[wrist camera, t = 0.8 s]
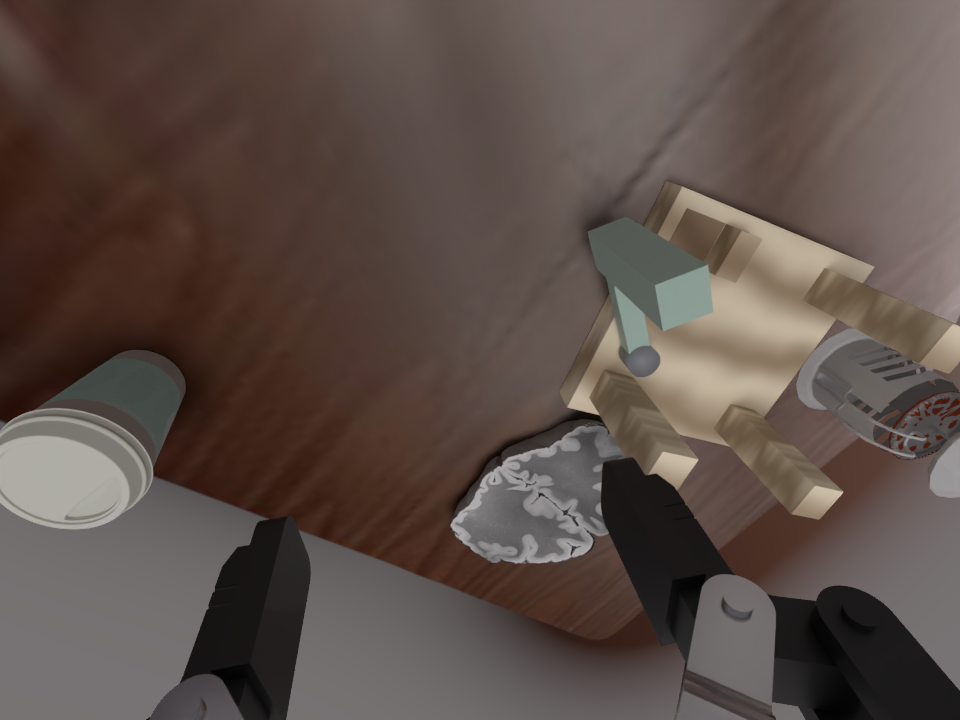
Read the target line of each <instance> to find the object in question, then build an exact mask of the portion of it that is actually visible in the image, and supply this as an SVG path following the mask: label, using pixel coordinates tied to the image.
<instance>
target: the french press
mask: <svg viewBox="0 0 960 720" xmlns="http://www.w3.org/2000/svg"><path fill="white" fill-rule="evenodd" d="M892 354H895V355H896V357H897V358H894V359H893V358H892ZM904 361H907V362H908V365H907V366H904V363H903V362H904ZM897 363H898V364H897ZM917 368H920V371H921V373H920V374H916V370H915V369H917ZM929 380H935V384H936V386H935V385H933V384H931V383H929ZM796 387H797V392H798V396H799V399H800V400H801V401H802V402H803V403H804V404H805V405H806V406H807V407H810V408H814V409H819V410H826V409H828V410H829V411H831V412H832V413H833V414H835V415H836V416H837V417H838V419H839V420H840V421H841V423H842V424H843V425H844V426H846V427H847V428H848V429H850V430H851V431H852V432H854V433H855V434H856V435H858V436H859V437H861V438H862V439H864V440H865V441H867V442H870V443H872V444H874V445H876V446H877V447H879V448H880V449H882V450H884V451H887V452H892V453H893V454H894V455H895V456H896V457H897V458H899V459H905V460H913V459H918V458H919V459H920V458H924V457H926V456H928V455H930V454H931V455H932V454H933V453H936V452H937V451H938V452H937V453H936V454H935V455H934V457H933V459H932V461H931V463H930V465H929V467H928V481H929V488H930V489H931V490H932V491H933V492H934V493H935V494H936V495H937V496H942V497H948V498H954V497H960V393H959V390H958V389H957V388H956V386H955V385H954V384H953V383H952V382H951V381H949V380H947V379H945V378H944V377H942V376H940V375H938V374H936V373H935V372H933V371H926V369H925V367H923V366H921V365H919V364H917V363H913V362H912V360H911V359H908V358H906V357H904V356H901V355H900V354H899V353H897V352H895V351H893V350H889V347H888V346H886V345H884V344H883V343H881V342H879V341H877V340H875V339H873V338H871V337H870V336H868V335H866V334H864V333H862V332H860V331H858V330H857V329H855V328H851V329H846V330H844V331H842V332H840V333H838V334H836V335H834V336H832V337H830V338H828V339H827V340H826V341H825V342H824V343H822V344H821V345H820V346H819V347H818V348H817V349H816V350H814V351H813V352H812V353H811V355H810V356H809V358H808V359H807V361H806V362H805V364H804V365H803V367H802V368H801V369H800V373H799V377H798V381H797V384H796ZM862 402H864V403H866V404H867V406H866V407H864V408H863V409H861V410H860V409H859V408H857V406H858V405H860V404H861V403H862ZM888 404H890V405H889V406H888V407H886V406H887V405H888ZM885 407H886V408H885ZM872 409H875V410H876V411H878V413H876V414H875V415H873V416H872V417H870V416H869V415H867V413H868V412H870V411H871V410H872ZM896 409H898V410H899V411H900V412H902V413H900V414H898V415H896V416H894V417H893V418H891V419H889V420H888V421H887V422H885V423H884V424H881V423H879V422H877V421H878V420H879V419H881V418H882V417H883V416H885V415H887V414H888V413H890V412H892V411H894V410H896ZM848 423H849V424H850V425H849V424H848ZM875 424H876V425H878V426H880V427H879V428H878V429H877V430H876V431H875V432H874V433H873V428H874V426H875ZM850 426H851V427H850ZM892 426H893V428H890V427H892ZM852 427H853V428H854V429H855V430H856V431H855V430H854V429H853V428H852ZM886 430H888V431H891V433H890V436H889V438H888V439H887V440H886V441H885V442H884V443H882V444H878V443H876V442H874V440H877V439H878V438H879V437H880V436H881V435H882V434H883V433H884V432H885V431H886ZM858 431H860V432H861V433H862V434H861V433H860V432H858Z"/></svg>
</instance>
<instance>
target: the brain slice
mask: <svg viewBox="0 0 960 720" xmlns="http://www.w3.org/2000/svg"><path fill="white" fill-rule="evenodd" d="M622 458H625V456H624V455H623V453H622V451H621V450H620V448H619V446H618V445H617V443H616V441H615V440H614V438H613V436H612V435H611V433H610V431H609V430H608V428H607V426H606V425H605V424H603V423H602V422H599V421H595V420H590V419H580V420H573V421H567V422H564V423H562V424H560V425H558V426H556V427H554V428H553V429H551V430H549V431H546V432H543V433H541V434H538V435H536V436H534V437H533V438H529V439H526V440H524V441H522V442H519V443H518V444H515V445H512V446H510V447H508V448H507V449H505V450H504V451H503V452H502V454H501V456H497V457H495V458H493V459H492V460H491V461H490V462H489V463H488V464H487V465H486V467H485V469H484V471H483V473H482V474H481V476H480V477H479V479H478V480H477V481H476V482H475V483H474V484H473V485H472V486H471V488H470V489H469V491H468V493H467V494H466V496H465V497H464V498H463V499H462V500H461V501H460V502H459V504H458V506H457V508H456V510H455V514H454V515H453V518H452V521H451V529H452V531H453V532H454V534H455V536H456V537H457V538H458V539H459V540H460V541H461V542H462V543H463V544H464V545H465V546H467V547H469V548H470V549H472V550H473V551H474V552H475V553H477V554H478V555H480V556H481V557H483V558H485V559H487V560H488V561H490V562H493V563H497V562H500V561H504V562H509V563H516V564H522V563H526V562H529V563H533V564H542V563H548V562H562V561H566V560H569V559H571V558H573V557H579V556H582V555H584V554H586V553H588V552H589V551H590V550H592V548H593V546H594V543H595V539H594V537H593V536H592V535H591V534H590V533H589V532H591V533H592V534H593V535H596V536H606V535H609V532H608V530H607V528H606V526H605V523H604V520H603V516H602V511H601V484H602V466H603V463H604V462H605V461H610V460H616V459H622ZM588 531H589V532H588Z"/></svg>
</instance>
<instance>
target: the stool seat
mask: <svg viewBox="0 0 960 720" xmlns="http://www.w3.org/2000/svg"><path fill="white" fill-rule="evenodd" d="M643 227H645V228H647V229H648V230H650V231H652V232H653V233H655V234H657V235H659V236H660V237H662V238H664V239H665V240H667V241H669V242H670V243H672V244H674V245H675V246H677V247H679V248H681V249H682V250H684V251H686V252H687V253H689V254H691V255H692V256H694V257H696V258H698V259H699V260H701V261H703V262H704V263H706V264H708V268H709V277H710V286H711V295H712V304H713V313H710V314H707V315H705V316H702V317H699V318H697V319H694V320H692V321H689V322H686V323H684V324H681V325H678V326H676V327H673V328H671V329H668V330H665V331H662V330H661V329H660V328H659V327H658V326H657V325H656V324H655V323H654V322H653V321H652V320H650V319H649V318H648V317H647V316H646V315H645V314H644V316H645V321H646V326H647V332H648V337H649V342H650V345H651V346H652V347H653V348H654V349H655V350H656V351H657V353H658V354H659V355H660V365H659V367H658V368H657V370H656V371H655V372H654V373H652V374H651V375H649V376H646V377H636V376H634V375H633V374H632V373H631V372H630V370H629V369H628V368H627V367H626V365H625V364H624V363H623V362H622V361H621V359H620V357H619V350H620V348H621V346H622V345H621V340H620V336H619V332H618V327H617V323H616V319H615V315H614V310H613V306H612V302H611V297H610V293H609V295H608V297H607V299H606V301H605V303H604V305H603V307H602V309H601V311H600V313H599V315H598V317H597V319H596V321H595V323H594V325H593V327H592V329H591V331H590V333H589V335H588V337H587V338H586V340H585V342H584V344H583V346H582V348H581V350H580V352H579V354H578V356H577V358H576V360H575V362H574V364H573V366H572V368H571V370H570V372H569V374H568V376H567V378H566V380H565V382H564V384H563V386H562V388H561V390H560V392H559V393H560V395H561V397H562V399H563V400H564V402H565V404H566V406H567V408H571V409H575V410H580V411H584V412H588V413H592V414H596V415H600V417H601V418H602V420H603V422H604V423H605V425H606V426H607V428H608V430H609V431H610V433H611V435H612V436H613V438H614V440H615V441H616V443H617V445H618V446H619V448H620V450H621V451H622V453H623V455H624V456H625V458H628V457H633V458H634V459H635V460H636V461H637V463H638V465H639V466H640V468H641V469H642V471H643V473H644V474H645V475H650V474H656V473H657V474H658V475H659V476H661V477H662V478H663V479H665V480H666V481H667V482H669V483H670V484H672V485H673V486H674V487H675V489H676V490H678V488H679V487H680V486H681V484H682V483H683V481H684V480H685V478H686V477H687V476H688V474H689V473H690V471H691V470H692V468H693V467H694V466H695V464H696V463H697V461H698V460H699V459H698V458H697V457H696V456H695V454H694V453H693V452H692V451H691V449H690V448H689V447H688V445H687V444H686V443H685V442H684V440H683V439H682V438H681V437H680V435H684V436H688V437H693V438H697V439H701V440H705V441H709V442H714V443H718V444H722V445H726V446H730V447H731V448H732V449H733V451H734V452H735V453H736V454H737V455H738V456H739V457H740V458H741V459H742V460H743V462H744V463H745V464H746V465H747V466H748V467H749V468H750V469H751V470H752V471H753V473H754V474H755V475H756V476H757V477H758V478H759V479H760V480H761V481H762V482H763V484H764V485H765V486H766V487H767V488H768V489H769V490H770V491H771V492H772V493H773V495H774V496H775V497H776V498H777V499H778V500H779V501H780V502H781V503H782V504H783V505H784V507H785V508H786V509H787V510H788V511H789V512H790V513H791V514H794V515H799V516H804V517H810V518H814V519H820V518H821V517H822V516H823V515H824V514H825V512H826V511H827V510H828V509H829V508H830V507H831V506H832V505H833V503H834V502H835V501H836V500H837V499H838V498H839V497H840V496H841V495H842V493H843V491H842V490H841V489H840V488H839V487H838V486H837V485H836V484H834V483H833V482H832V481H831V480H830V479H829V478H828V477H827V476H826V475H825V474H824V473H823V472H821V471H820V470H819V469H818V468H817V467H816V466H815V465H814V464H813V463H812V462H811V461H809V460H808V459H807V458H806V457H805V456H804V455H803V454H802V453H801V452H800V451H799V450H798V449H796V448H795V447H794V446H793V445H792V444H791V443H790V442H789V441H788V440H787V439H786V438H784V437H783V436H782V435H781V434H780V433H779V432H778V431H777V430H776V429H775V428H774V427H773V426H771V425H770V424H769V423H768V422H767V421H766V420H765V419H764V417H765V415H766V414H767V413H768V411H769V410H770V409H771V407H772V406H773V404H774V403H775V402H776V400H777V399H778V398H779V396H780V395H781V394H782V392H783V391H784V390H785V388H786V387H787V385H788V384H789V383H790V381H791V380H792V379H793V377H794V376H795V375H796V373H797V372H798V370H799V369H800V368H801V366H802V365H803V364H804V362H805V361H806V360H807V358H808V357H809V356H810V354H811V353H812V351H813V350H814V349H815V347H816V346H817V345H818V343H819V342H820V341H821V339H822V338H823V337H824V335H825V334H826V332H827V331H828V330H829V328H830V327H831V326H832V324H833V323H834V322H835V320H836V319H838V320H840V321H842V322H844V323H846V324H847V325H849V326H851V327H853V328H855V329H857V330H858V331H860V332H862V333H864V334H866V335H868V336H870V337H871V338H873V339H875V340H877V341H879V342H881V343H883V344H884V345H886V346H888V347H890V348H892V349H894V350H895V351H897V352H899V353H901V354H903V355H905V356H907V357H908V358H910V359H912V360H914V361H916V362H918V363H920V364H922V365H925V366H928V367H931V368H934V369H937V370H940V371H942V372H945V373H948V374H949V373H950V372H951V371H952V370H953V369H954V368H955V367H956V366H957V364H958V363H959V362H960V326H959V325H957V324H955V323H952V322H950V321H948V320H945V319H943V318H941V317H939V316H936V315H934V314H932V313H929V312H927V311H925V310H922V309H920V308H918V307H916V306H913V305H911V304H909V303H906V302H904V301H902V300H899V299H897V298H895V297H893V296H890V295H888V294H886V293H883V292H881V291H879V290H876V289H874V288H872V287H870V286H867V285H865V284H863V282H864V281H865V279H866V278H867V277H868V275H869V274H870V273H871V271H872V270H873V269H874V266H871V265H869V264H866V263H864V262H862V261H859V260H857V259H854V258H852V257H850V256H847V255H845V254H842V253H840V252H838V251H835V250H833V249H830V248H828V247H826V246H823V245H821V244H819V243H816V242H814V241H811V240H809V239H807V238H804V237H802V236H799V235H797V234H795V233H792V232H790V231H787V230H785V229H783V228H780V227H778V226H775V225H773V224H771V223H768V222H766V221H763V220H761V219H759V218H756V217H754V216H752V215H749V214H747V213H744V212H742V211H740V210H737V209H735V208H732V207H730V206H728V205H725V204H723V203H720V202H718V201H716V200H713V199H711V198H708V197H706V196H704V195H701V194H699V193H696V192H694V191H692V190H689V189H687V188H685V187H682V186H679V185H677V184H674V183H671V182H669V181H666V182H665V184H664V186H663V188H662V190H661V192H660V194H659V196H658V198H657V200H656V202H655V204H654V206H653V208H652V210H651V212H650V214H649V216H648V218H647V220H646V222H645V224H644V226H643ZM679 434H680V435H679Z"/></svg>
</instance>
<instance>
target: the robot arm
mask: <svg viewBox="0 0 960 720" xmlns="http://www.w3.org/2000/svg"><path fill="white" fill-rule="evenodd" d="M601 511H602V516H603V520H604V523H605V526H606V528H607V530H608V532H609V534H610V536H611V539H612V541H613V543H614V545H615V547H616V549H617V552H618V554H619V556H620V558H621V560H622V562H623V564H624V567H625V569H626V571H627V573H628V575H629V577H630V579H631V582H632V584H633V586H634V588H635V590H636V592H637V594H638V597H639V599H640V601H641V603H642V605H643V607H644V610H645V612H646V614H647V616H648V618H649V620H650V622H651V624H652V627H653V629H654V631H655V633H656V635H657V637H658V640H659V642H660V644H661V646H663V645H667V644H672V643H677V645H678V647H679V649H680V651H681V653H682V656H683V658H684V660H685V667H684V672H683V677H682V683H681V688H680V693H679V698H678V704H677V709H676V714H675V719H674V720H776V718H775V716H773V715H772V702H776V703H782V704H787V705H794V706H798V707H799V709H800V711H801V712H802V714H803V716H804V717H805V719H806V720H960V691H959V689H958V688H957V687H956V686H955V685H954V684H953V682H952V681H951V680H950V679H949V678H948V677H947V675H946V674H945V673H944V672H943V671H942V670H941V668H940V667H939V666H938V665H937V664H936V663H935V661H934V660H933V659H932V658H931V657H930V656H929V654H928V653H927V652H926V651H925V650H924V649H923V647H922V646H921V645H920V644H919V643H918V642H917V641H916V639H915V638H914V637H913V636H912V635H911V633H910V632H909V631H908V630H907V629H906V628H905V626H904V625H903V624H902V623H901V622H900V621H899V619H898V618H897V617H896V616H895V615H894V614H893V612H892V611H891V610H890V609H889V608H888V607H887V606H886V605H884V604H883V603H882V602H881V601H879V600H878V599H876V598H875V597H873V596H871V595H870V594H868V593H866V592H863V591H861V590H859V589H856V588H852V587H848V586H832V587H828V588H825V589H824V590H822V591H821V592H820V594H819V595H818V598H817V600H816V601H811V600H802V599H794V598H786V597H777V596H772V595H768V594H766V593H765V592H764V591H763V590H762V589H761V588H760V587H758V586H757V585H756V584H754V583H753V582H751V581H749V580H747V579H744V578H742V577H739V576H736V575H735V574H734V573H733V572H732V571H731V570H730V568H729V567H728V565H727V564H726V562H725V561H724V560H723V558H722V557H721V555H720V554H719V552H718V551H717V549H716V548H715V546H714V545H713V543H712V542H711V540H710V539H709V537H708V536H707V534H706V533H705V531H704V530H703V529H702V527H701V526H700V524H699V523H698V521H697V520H696V519H694V515H693V514H692V512H691V511H690V509H689V508H688V506H686V505H685V502H684V500H683V499H682V498H681V496H680V495H679V493H678V492H677V490H676V489H675V487H674V486H673V485H672V484H670V483H669V482H667V481H666V480H665V479H663V478H662V477H661V476H659V475H658V474H657V473H656V474H650V475H645V474H644V473H643V471H642V469H641V468H640V466H639V465H638V463H637V461H636V460H635V459H634V458H633V457H628V458H622V459H616V460H610V461H605V462H604V463H603V466H602V484H601ZM310 573H311V572H310V561H309V556H308V554H307V551H306V549H305V546H304V543H303V541H302V538H301V536H300V533H299V531H298V528H297V526H296V523H295V521H294V519H293V517H292V516H287V517H281V518H275V519H269V520H263V521H259V522H258V523H257V525H256V528H255V530H254V533H253V537H252V540H251V543H250V545H248V546H242V547H237V549H236V550H235V551H234V553H233V554H232V555H231V556H230V558H229V559H228V560H227V561H226V563H225V564H224V565H223V567H222V569H221V572H220V574H219V577H218V580H217V583H216V586H215V592H213V594H212V597H211V600H210V602H209V605H208V606H209V609H208V610H207V611H206V613H205V616H204V619H203V622H202V625H201V627H200V630H199V633H198V636H197V638H196V641H195V644H194V647H193V650H192V653H191V655H190V658H189V661H188V664H187V666H186V669H185V672H184V675H183V677H182V680H181V682H180V683H179V684H178V685H177V686H175V687H174V688H173V689H172V690H171V691H169V692H168V693H167V694H166V695H165V696H164V697H163V699H162V700H161V701H160V703H159V704H158V705H157V707H156V708H155V710H154V711H153V713H152V715H151V717H149V718H148V719H146V720H286V717H287V711H288V705H289V699H290V694H291V688H292V682H293V676H294V671H295V664H296V659H297V653H298V648H299V642H300V636H301V630H302V624H303V619H304V613H305V607H306V602H307V596H308V590H309V584H310Z"/></svg>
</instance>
